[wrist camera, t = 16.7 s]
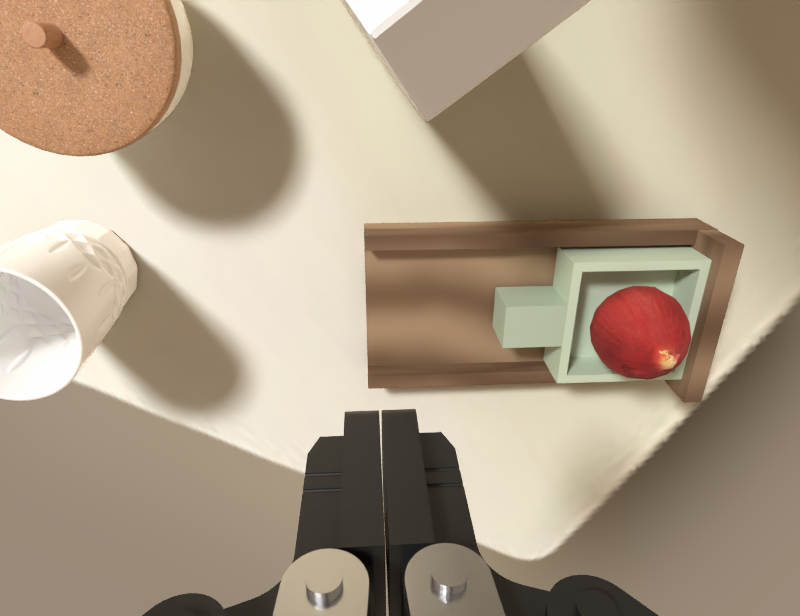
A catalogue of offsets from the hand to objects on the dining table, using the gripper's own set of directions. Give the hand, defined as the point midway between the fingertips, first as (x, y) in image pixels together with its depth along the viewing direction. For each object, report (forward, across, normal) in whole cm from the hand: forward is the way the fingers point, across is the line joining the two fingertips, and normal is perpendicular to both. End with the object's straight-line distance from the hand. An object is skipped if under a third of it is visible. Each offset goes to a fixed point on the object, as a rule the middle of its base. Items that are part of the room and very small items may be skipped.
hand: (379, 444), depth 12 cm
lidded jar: (+27, +14, -8) cm, 32 cm away
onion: (+25, -17, +9) cm, 31 cm away
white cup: (+27, +19, +6) cm, 34 cm away
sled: (+25, -15, +9) cm, 31 cm away
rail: (+27, -11, +9) cm, 31 cm away
